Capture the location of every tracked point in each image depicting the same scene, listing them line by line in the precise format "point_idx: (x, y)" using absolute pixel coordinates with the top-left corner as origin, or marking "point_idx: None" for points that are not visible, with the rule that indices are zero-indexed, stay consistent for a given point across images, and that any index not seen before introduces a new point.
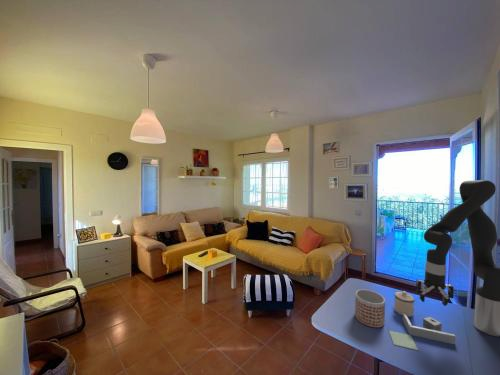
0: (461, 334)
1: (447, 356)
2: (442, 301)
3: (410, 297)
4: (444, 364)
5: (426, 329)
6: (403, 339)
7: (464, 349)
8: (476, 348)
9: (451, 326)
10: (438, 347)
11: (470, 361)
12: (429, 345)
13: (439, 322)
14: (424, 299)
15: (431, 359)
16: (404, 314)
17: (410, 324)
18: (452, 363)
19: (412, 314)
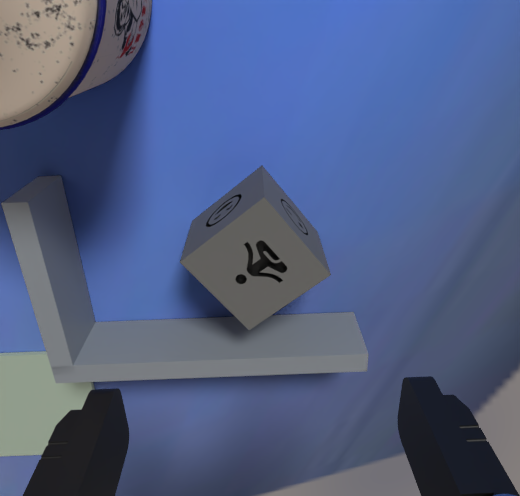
0: (478, 187)
1: (254, 433)
2: (416, 411)
3: (19, 26)
4: (216, 483)
5: (174, 371)
6: (35, 406)
7: (388, 348)
8: (477, 312)
9: (464, 89)
10: (232, 386)
11: (361, 426)
12: (184, 389)
13: (315, 267)
14: (116, 486)
15: (164, 477)
16: (17, 224)
17: (61, 356)
18: (258, 466)
19: (132, 55)
